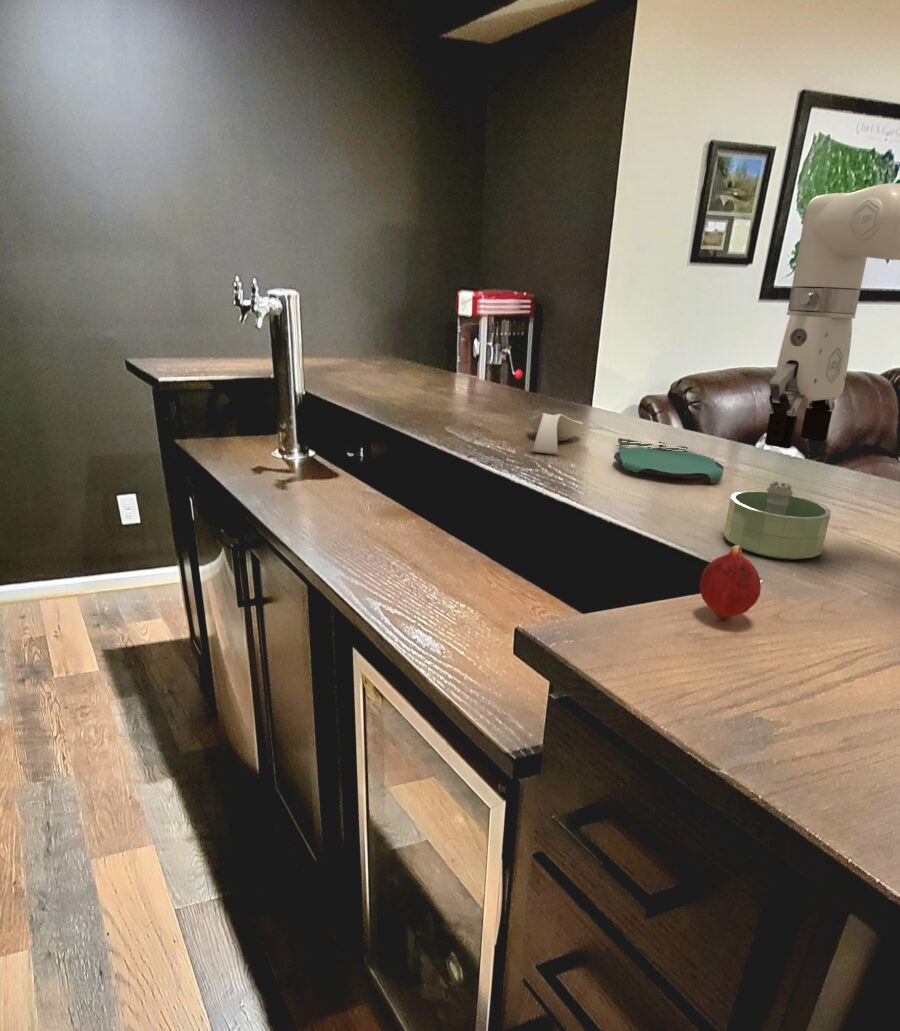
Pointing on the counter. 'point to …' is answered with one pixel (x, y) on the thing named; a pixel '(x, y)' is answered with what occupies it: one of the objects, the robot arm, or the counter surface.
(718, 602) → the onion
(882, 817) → the counter surface
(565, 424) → the spoon rest
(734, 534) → the green round tub
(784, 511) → the rook chess piece
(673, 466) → the cutlery set
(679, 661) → the counter surface
